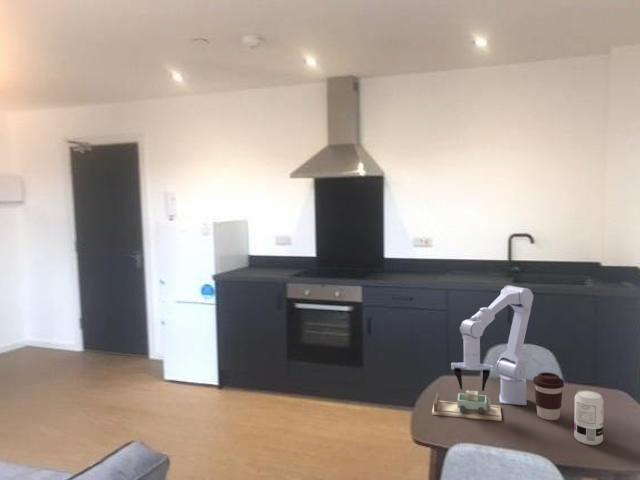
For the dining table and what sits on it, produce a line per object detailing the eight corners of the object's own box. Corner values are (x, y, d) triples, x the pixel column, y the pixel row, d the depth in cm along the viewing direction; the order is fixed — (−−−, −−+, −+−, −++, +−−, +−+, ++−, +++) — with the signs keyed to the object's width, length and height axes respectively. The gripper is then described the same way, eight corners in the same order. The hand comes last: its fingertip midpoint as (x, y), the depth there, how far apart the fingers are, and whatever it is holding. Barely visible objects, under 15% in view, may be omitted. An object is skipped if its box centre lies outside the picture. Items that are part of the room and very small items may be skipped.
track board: (500, 408, 194) (500, 397, 193) (501, 420, 183) (501, 409, 183) (434, 402, 201) (434, 392, 200) (431, 414, 190) (431, 403, 190)
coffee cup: (550, 424, 179) (550, 382, 178) (527, 414, 188) (527, 373, 187) (569, 418, 184) (570, 376, 182) (546, 408, 192) (546, 368, 191)
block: (477, 401, 192) (477, 391, 192) (477, 405, 189) (477, 395, 188) (466, 400, 193) (466, 390, 193) (466, 405, 190) (466, 394, 189)
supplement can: (568, 435, 171) (569, 390, 170) (592, 433, 172) (593, 389, 171) (583, 446, 163) (584, 400, 162) (608, 445, 164) (609, 398, 163)
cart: (489, 404, 194) (489, 394, 194) (490, 414, 185) (490, 404, 185) (458, 401, 197) (458, 392, 197) (457, 411, 188) (457, 401, 188)
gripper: (450, 355, 188) (451, 391, 189) (493, 357, 184) (493, 394, 185) (451, 349, 195) (452, 384, 196) (492, 351, 190) (492, 387, 191)
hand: (472, 389), depth 191 cm, fingers open, 7 cm apart
